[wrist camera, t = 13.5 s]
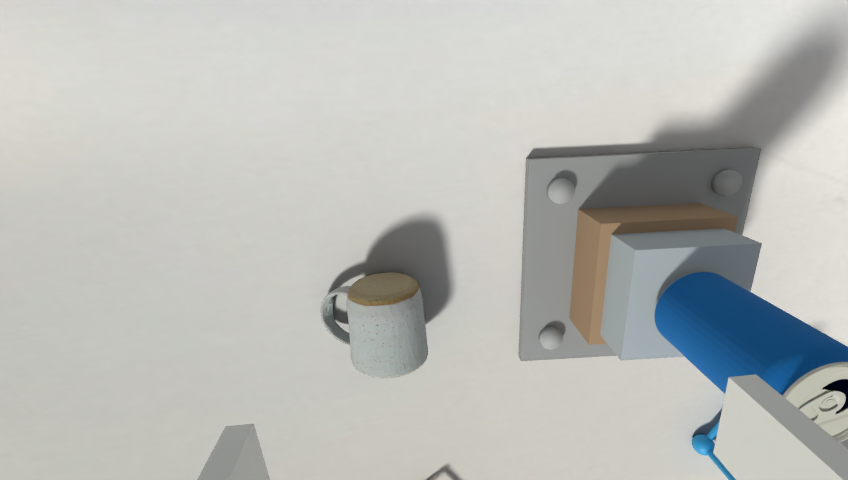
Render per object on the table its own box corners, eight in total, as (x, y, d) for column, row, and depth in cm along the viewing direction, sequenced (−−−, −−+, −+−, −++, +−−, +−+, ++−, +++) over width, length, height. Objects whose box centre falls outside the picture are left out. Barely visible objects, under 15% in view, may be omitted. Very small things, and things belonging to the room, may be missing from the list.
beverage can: (740, 309, 34) (905, 414, 23) (670, 352, 35) (795, 472, 24) (707, 252, 32) (869, 334, 21) (634, 298, 33) (751, 401, 22)
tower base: (526, 158, 39) (563, 176, 30) (752, 147, 40) (859, 162, 31) (518, 355, 47) (547, 421, 37) (710, 344, 47) (787, 406, 38)
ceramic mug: (420, 264, 43) (421, 298, 35) (427, 333, 45) (429, 378, 38) (317, 273, 43) (297, 309, 35) (330, 342, 45) (314, 388, 38)
